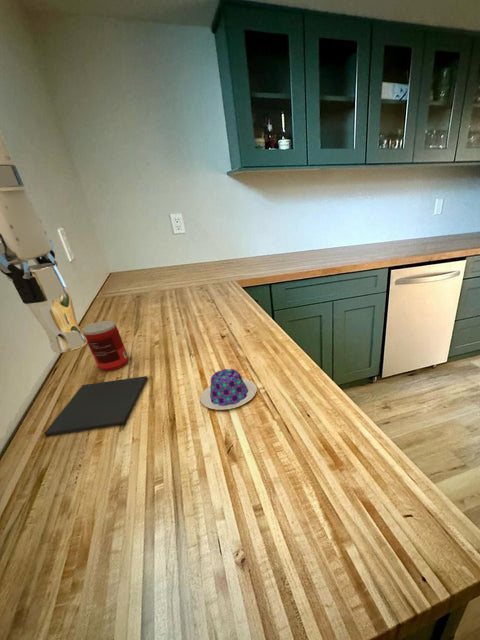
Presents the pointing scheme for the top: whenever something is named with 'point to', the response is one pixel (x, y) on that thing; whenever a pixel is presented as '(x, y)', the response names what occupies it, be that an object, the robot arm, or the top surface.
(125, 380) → the place mat
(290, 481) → the top surface
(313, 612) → the top surface
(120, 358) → the canned food
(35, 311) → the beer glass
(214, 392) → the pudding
